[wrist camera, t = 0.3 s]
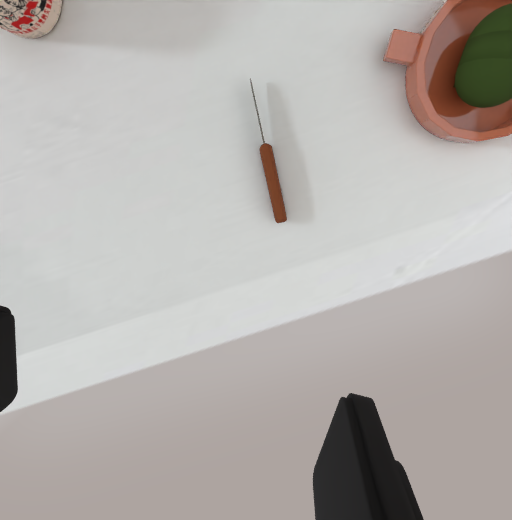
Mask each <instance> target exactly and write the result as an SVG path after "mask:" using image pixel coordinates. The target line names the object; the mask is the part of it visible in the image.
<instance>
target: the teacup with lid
mask: <svg viewBox="0 0 512 520" xmlns="http://www.w3.org/2000/svg"><path fill="white" fill-rule="evenodd" d="M61 5H62V0H0V27H1V28H3V29H5V30H7V31H9V32H11V33H13V34H15V35H17V36H20V37H24V38H38V37H41V36H44V35H45V34H47V33H48V32H49V31H50V30H52V28H53V27H54V26H55V24H56V22H57V20H58V18H59V15H60V12H61Z"/></svg>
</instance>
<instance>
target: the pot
mask: <svg viewBox="0 0 512 520" xmlns="http://www.w3.org/2000/svg"><path fill="white" fill-rule="evenodd" d="M510 3H512V0H447V1H446V2H445V3H444V4H443V5H442V6H441V7H440V8H439V9H438V10H437V11H436V13H435V14H434V15H433V17H432V18H431V20H430V21H429V22H428V23H427V25H426V26H425V27H424V29H423V30H422V32H421V33H420V34H418V33H412V32H407V31H402V30H397V29H394V30H393V31H392V33H391V35H390V38H389V42H388V45H387V48H386V52H385V55H384V59H383V61H386V62H391V63H396V64H401V65H407V70H406V84H405V86H406V95H407V99H408V103H409V106H410V108H411V111H412V113H413V114H414V116H415V118H416V119H417V121H418V122H419V123H420V124H421V125H422V126H423V127H424V128H425V129H426V130H427V131H429V132H430V133H432V134H433V135H435V136H437V137H439V138H442V139H445V140H448V141H455V142H462V143H470V142H477V141H483V140H488V139H493V138H498V137H503V136H508V135H510V134H512V99H510V100H509V101H507V102H505V103H503V104H500V105H497V106H494V107H487V108H478V107H474V106H470V105H468V104H467V103H465V102H464V101H462V99H461V98H460V97H459V96H458V94H457V92H456V88H455V87H453V86H454V84H455V74H456V70H457V67H458V64H459V61H460V59H461V56H462V53H463V50H464V47H465V45H466V42H467V40H468V38H469V36H470V34H471V33H472V31H473V30H474V28H475V27H476V26H477V25H478V24H479V23H480V22H481V20H483V19H484V18H485V17H486V16H487V15H488V14H490V13H491V12H493V11H494V10H496V9H498V8H500V7H502V6H504V5H507V4H510Z"/></svg>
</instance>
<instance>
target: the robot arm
mask: <svg viewBox="0 0 512 520" xmlns="http://www.w3.org/2000/svg"><path fill="white" fill-rule="evenodd" d="M17 391H18V386H17V364H16V342H15V320H14V316H13V315H12V314H11V311H10V310H9V308H6V307H3V306H0V412H1V411H2V410H4V409H5V408H6V407H7V406H8V405H9V404H10V403H11V402H12V401H13V400H14V398H15V397H16V394H17ZM313 490H314V505H315V519H316V520H423V517H422V514H421V511H420V509H419V506H418V504H417V501H416V498H415V496H414V493H413V490H412V488H411V485H410V482H409V480H408V477H407V475H406V472H405V470H404V468H403V466H402V465H401V464H400V463H399V462H398V461H396V460H395V459H394V457H393V454H392V451H391V448H390V445H389V443H388V440H387V437H386V434H385V431H384V429H383V426H382V423H381V420H380V417H379V415H378V412H377V409H376V406H375V403H374V401H373V399H371V398H368V397H364V396H360V395H356V394H352V393H350V394H349V395H348V396H347V398H345V397H341V398H340V400H339V403H338V406H337V408H336V411H335V414H334V416H333V419H332V422H331V425H330V427H329V430H328V433H327V435H326V438H325V441H324V444H323V446H322V449H321V452H320V454H319V457H318V460H317V462H316V465H315V468H314V473H313Z"/></svg>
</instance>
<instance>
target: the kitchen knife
mask: <svg viewBox="0 0 512 520" xmlns="http://www.w3.org/2000/svg"><path fill="white" fill-rule="evenodd" d="M250 81H251V78H250ZM251 87H252V82H251ZM252 92H253V97H254V101H255V106H256V111H257V115H258V120H259V125H260V129H261V134H262V139H263V143H264V144H263V145H262V146H261V147H260V154H261V158H262V163H263V167H264V172H265V176H266V181H267V185H268V190H269V194H270V199H271V203H272V207H273V212H274V216H275V220H276V222H277V223H281V222H285V221H286V220H287V217H286V212H285V207H284V202H283V198H282V193H281V188H280V184H279V179H278V174H277V170H276V165H275V160H274V156H273V151H272V146H271V145H269V144H266V143H265V141H264V137H263V132H262V128H261V123H260V119H259V114H258V109H257V105H256V100H255V96H254V91H253V87H252Z"/></svg>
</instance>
